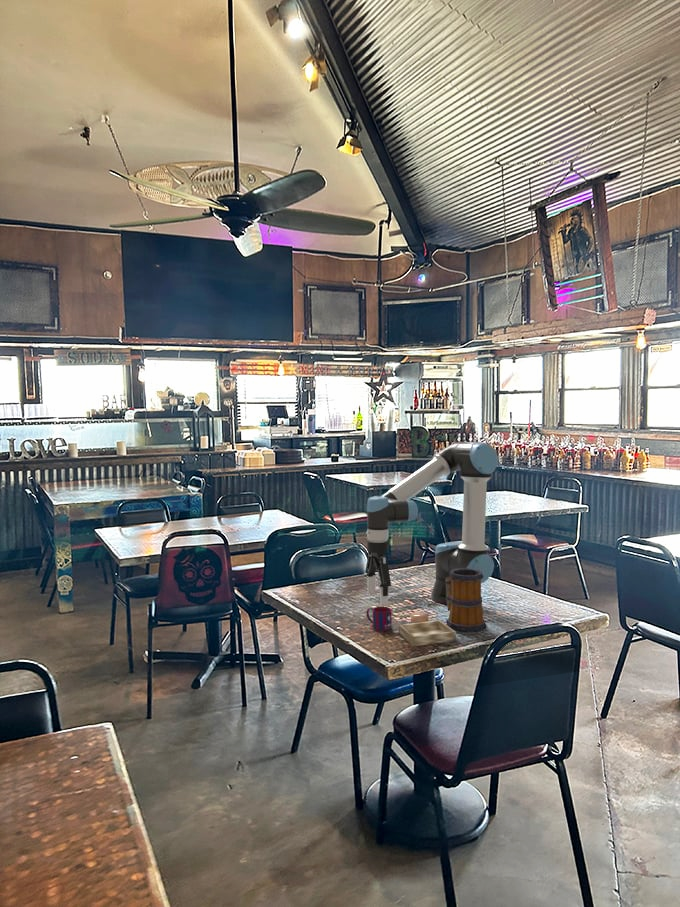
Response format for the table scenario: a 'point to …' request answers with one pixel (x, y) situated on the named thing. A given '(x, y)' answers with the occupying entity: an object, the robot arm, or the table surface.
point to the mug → (465, 601)
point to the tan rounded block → (419, 617)
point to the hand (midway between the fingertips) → (377, 599)
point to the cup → (381, 618)
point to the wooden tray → (427, 633)
